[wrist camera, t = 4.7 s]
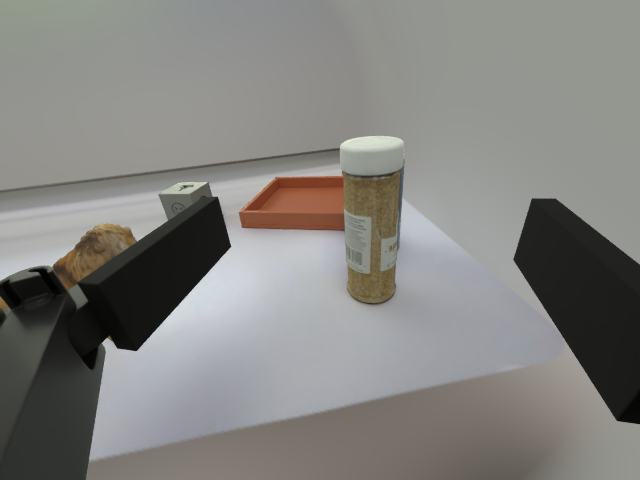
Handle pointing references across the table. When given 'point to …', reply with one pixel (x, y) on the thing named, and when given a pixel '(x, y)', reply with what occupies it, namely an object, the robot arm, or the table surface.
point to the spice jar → (371, 214)
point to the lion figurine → (91, 254)
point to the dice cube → (183, 196)
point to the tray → (297, 204)
